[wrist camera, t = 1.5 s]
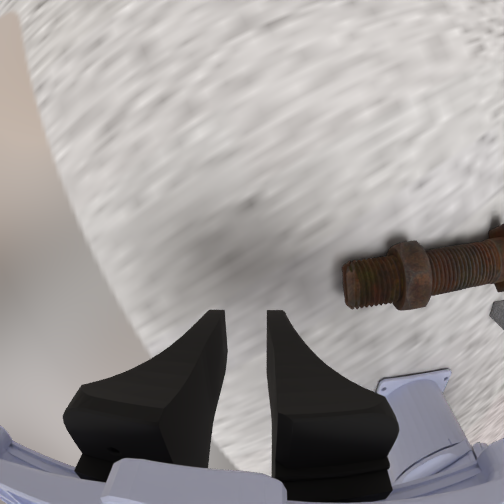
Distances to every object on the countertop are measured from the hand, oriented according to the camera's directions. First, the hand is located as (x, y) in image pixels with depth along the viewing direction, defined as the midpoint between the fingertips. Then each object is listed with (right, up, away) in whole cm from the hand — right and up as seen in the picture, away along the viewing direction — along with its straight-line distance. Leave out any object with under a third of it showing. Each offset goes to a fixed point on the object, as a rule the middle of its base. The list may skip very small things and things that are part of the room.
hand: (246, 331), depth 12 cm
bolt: (+14, +3, +9) cm, 17 cm away
